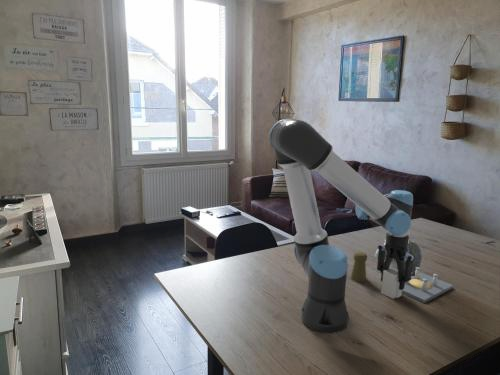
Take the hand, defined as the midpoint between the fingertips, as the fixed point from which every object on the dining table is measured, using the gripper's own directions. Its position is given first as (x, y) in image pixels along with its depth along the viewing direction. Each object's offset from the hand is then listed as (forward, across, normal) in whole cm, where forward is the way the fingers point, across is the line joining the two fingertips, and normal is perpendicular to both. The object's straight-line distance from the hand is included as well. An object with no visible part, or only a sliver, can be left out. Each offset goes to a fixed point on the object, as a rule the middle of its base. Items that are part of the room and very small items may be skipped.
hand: (391, 293), depth 137 cm
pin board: (0, -3, -14) cm, 14 cm away
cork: (+1, +15, 0) cm, 15 cm away
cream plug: (0, 0, 0) cm, 0 cm away
